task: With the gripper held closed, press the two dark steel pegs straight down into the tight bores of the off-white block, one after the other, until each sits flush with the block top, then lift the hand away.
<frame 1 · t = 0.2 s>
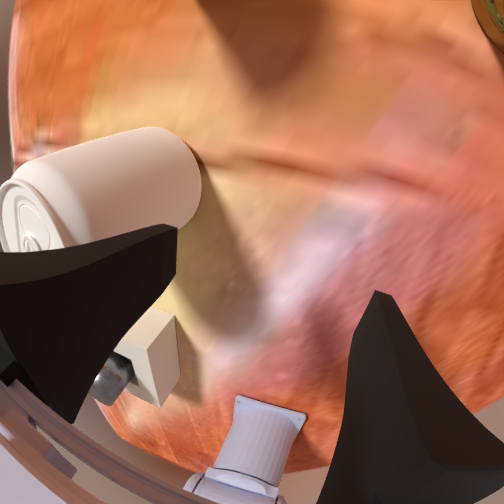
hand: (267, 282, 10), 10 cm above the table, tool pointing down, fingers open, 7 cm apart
peg one: (108, 376, 26), point 7 cm above the table, slide at 0.0 cm
beverage can: (159, 177, 22), on the table
bore block: (112, 321, 32), on the table
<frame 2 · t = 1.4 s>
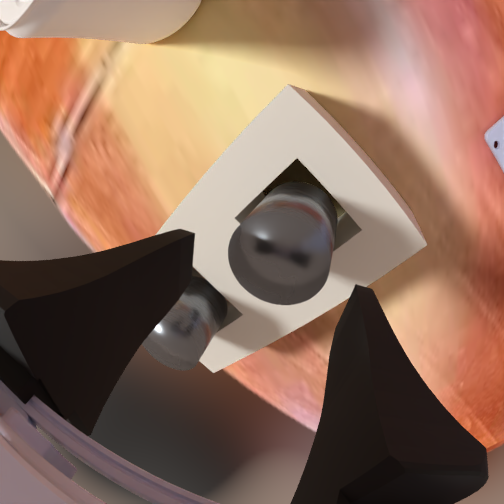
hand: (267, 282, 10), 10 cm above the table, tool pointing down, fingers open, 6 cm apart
peg one: (289, 238, 13), point 7 cm above the table, slide at 0.0 cm
bore block: (263, 235, 22), on the table
peg two: (184, 322, 18), point 7 cm above the table, slide at 0.0 cm
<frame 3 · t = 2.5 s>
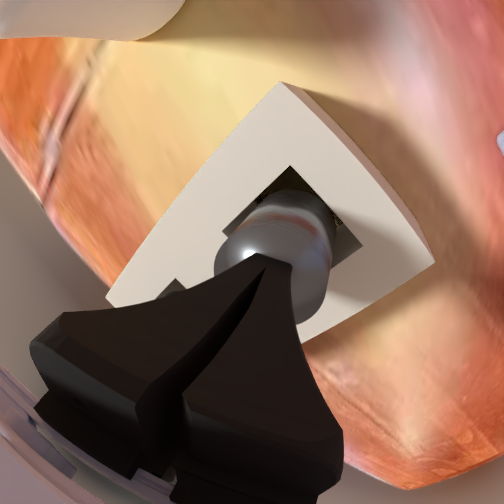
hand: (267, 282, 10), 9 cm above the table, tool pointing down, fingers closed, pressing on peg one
peg one: (282, 252, 12), point 6 cm above the table, slide at 0.3 cm, touching gripper
bore block: (256, 245, 20), on the table
peg two: (170, 340, 17), point 7 cm above the table, slide at 0.0 cm
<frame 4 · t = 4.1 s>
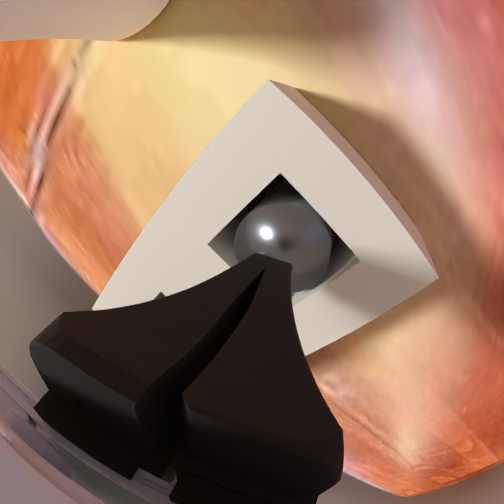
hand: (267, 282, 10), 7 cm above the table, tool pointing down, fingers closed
peg one: (291, 230, 14), point 3 cm above the table, slide at 4.0 cm
bore block: (247, 255, 19), on the table
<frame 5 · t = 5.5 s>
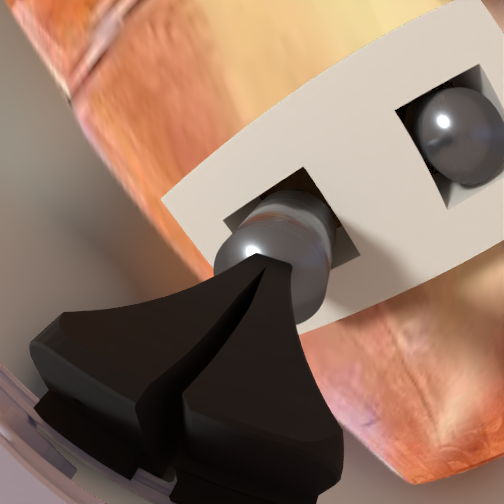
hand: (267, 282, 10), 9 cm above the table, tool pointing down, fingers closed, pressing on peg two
peg one: (451, 131, 11), point 3 cm above the table, slide at 4.0 cm
bore block: (372, 164, 15), on the table
peg two: (282, 252, 12), point 7 cm above the table, slide at 0.2 cm, touching gripper
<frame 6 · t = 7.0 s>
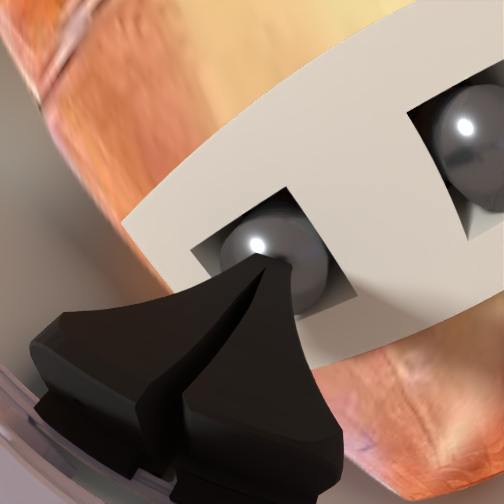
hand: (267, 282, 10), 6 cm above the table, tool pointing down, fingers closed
peg one: (472, 139, 8), point 3 cm above the table, slide at 4.0 cm
bore block: (373, 176, 13), on the table
peg two: (284, 245, 13), point 3 cm above the table, slide at 4.0 cm
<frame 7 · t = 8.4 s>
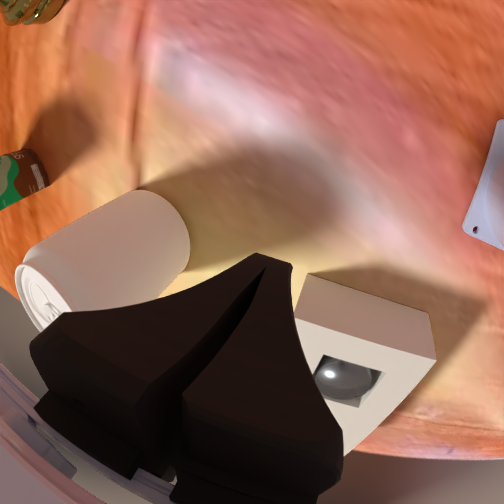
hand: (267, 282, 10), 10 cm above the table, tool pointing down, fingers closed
peg one: (346, 360, 21), point 3 cm above the table, slide at 4.0 cm
beverage can: (154, 232, 25), on the table
food container: (27, 164, 27), on the table
bore block: (330, 369, 26), on the table
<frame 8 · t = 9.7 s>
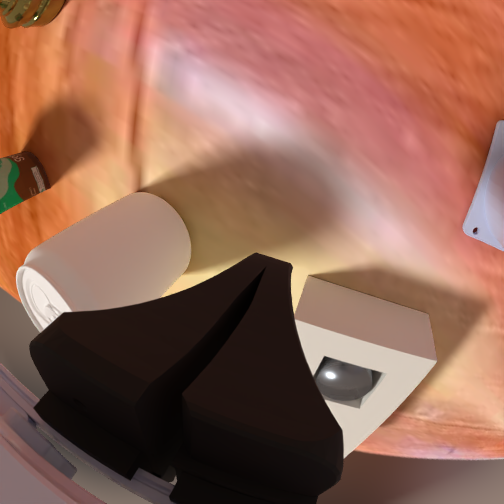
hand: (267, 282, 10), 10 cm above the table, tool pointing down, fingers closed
peg one: (347, 362, 21), point 3 cm above the table, slide at 4.0 cm
beverage can: (155, 234, 25), on the table
food container: (27, 166, 27), on the table
bore block: (331, 370, 26), on the table
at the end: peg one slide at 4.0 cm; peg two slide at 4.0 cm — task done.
